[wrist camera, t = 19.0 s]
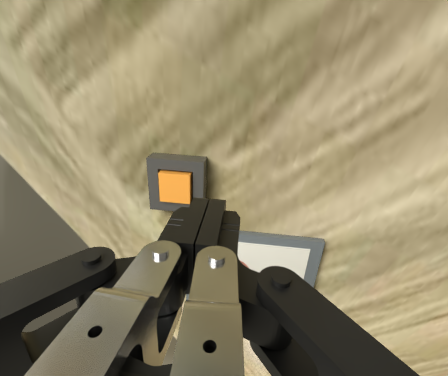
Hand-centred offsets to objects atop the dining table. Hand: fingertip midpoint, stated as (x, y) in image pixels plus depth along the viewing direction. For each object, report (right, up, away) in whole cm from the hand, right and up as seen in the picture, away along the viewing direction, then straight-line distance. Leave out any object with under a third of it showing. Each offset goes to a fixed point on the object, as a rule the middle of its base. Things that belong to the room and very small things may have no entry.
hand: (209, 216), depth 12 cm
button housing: (-6, +2, +27) cm, 28 cm away
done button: (-6, +2, +26) cm, 27 cm away
